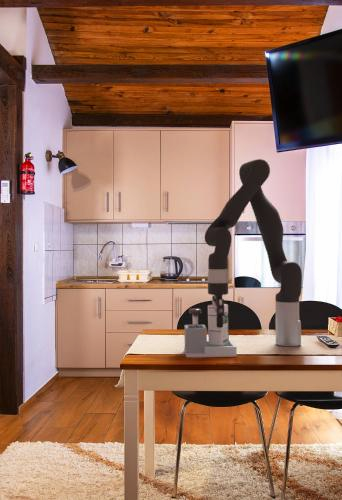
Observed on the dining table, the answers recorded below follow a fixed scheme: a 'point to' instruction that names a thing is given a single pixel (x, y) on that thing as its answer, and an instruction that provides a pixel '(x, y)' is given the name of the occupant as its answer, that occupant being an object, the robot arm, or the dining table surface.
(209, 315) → the syrup box
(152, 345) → the dining table surface
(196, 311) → the black knob with stem
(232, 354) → the tray
